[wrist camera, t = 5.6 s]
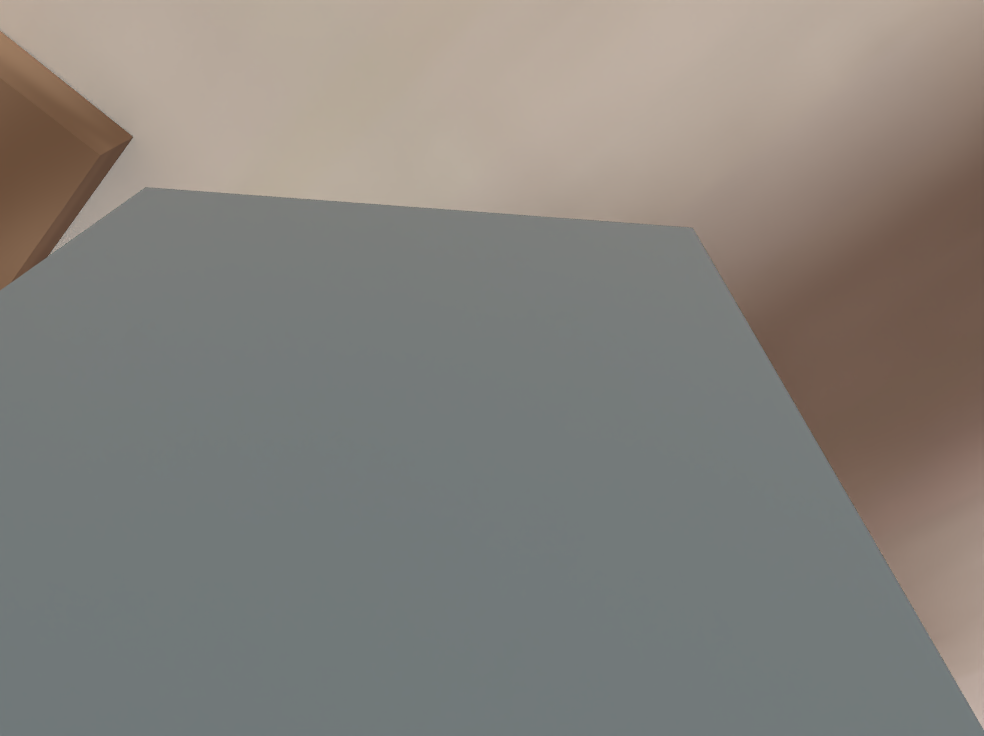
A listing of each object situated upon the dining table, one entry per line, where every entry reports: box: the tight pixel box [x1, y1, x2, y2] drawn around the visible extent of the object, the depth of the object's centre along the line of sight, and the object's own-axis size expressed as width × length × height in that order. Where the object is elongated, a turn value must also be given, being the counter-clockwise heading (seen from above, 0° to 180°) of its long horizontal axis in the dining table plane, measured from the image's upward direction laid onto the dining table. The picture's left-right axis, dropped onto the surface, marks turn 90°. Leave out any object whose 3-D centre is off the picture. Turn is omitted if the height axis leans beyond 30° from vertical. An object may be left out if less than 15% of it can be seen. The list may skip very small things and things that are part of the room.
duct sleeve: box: [0, 187, 984, 736], centre depth 8 cm, size 7×7×8 cm
